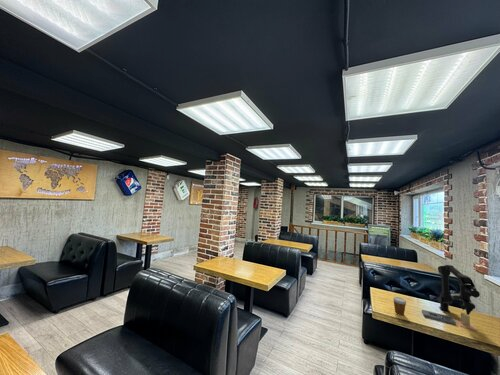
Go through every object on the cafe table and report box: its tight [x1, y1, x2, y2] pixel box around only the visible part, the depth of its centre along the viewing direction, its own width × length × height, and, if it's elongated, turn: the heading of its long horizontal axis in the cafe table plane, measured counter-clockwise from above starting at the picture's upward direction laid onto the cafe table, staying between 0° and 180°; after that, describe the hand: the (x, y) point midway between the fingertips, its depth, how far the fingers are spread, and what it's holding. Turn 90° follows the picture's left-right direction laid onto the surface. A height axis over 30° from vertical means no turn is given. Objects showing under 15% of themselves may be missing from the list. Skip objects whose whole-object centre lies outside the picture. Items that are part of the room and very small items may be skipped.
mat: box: [454, 319, 478, 331], centre depth 166 cm, size 10×10×1 cm
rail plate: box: [421, 309, 457, 326], centre depth 175 cm, size 10×20×2 cm, turn 60°
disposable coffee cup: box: [392, 296, 407, 316], centre depth 179 cm, size 10×10×12 cm
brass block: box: [460, 312, 471, 327], centre depth 167 cm, size 4×4×8 cm
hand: (465, 311), depth 167 cm, fingers open, 9 cm apart
